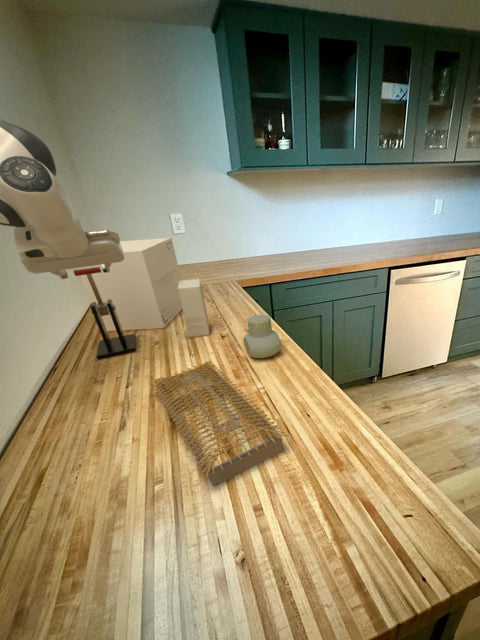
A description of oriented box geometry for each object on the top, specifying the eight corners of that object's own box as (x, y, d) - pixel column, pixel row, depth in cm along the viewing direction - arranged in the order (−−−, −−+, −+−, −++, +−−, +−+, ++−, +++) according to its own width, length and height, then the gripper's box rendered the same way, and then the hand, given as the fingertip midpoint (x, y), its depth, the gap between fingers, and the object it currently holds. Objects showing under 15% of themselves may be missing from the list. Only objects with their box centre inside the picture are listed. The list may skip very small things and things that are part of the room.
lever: (99, 268, 87) (99, 265, 88) (73, 272, 85) (73, 268, 86) (116, 313, 95) (116, 309, 97) (93, 317, 93) (93, 313, 95)
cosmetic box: (190, 328, 110) (178, 280, 102) (210, 325, 111) (200, 277, 103) (189, 338, 103) (176, 287, 95) (211, 334, 104) (200, 284, 96)
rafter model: (153, 394, 76) (145, 370, 73) (213, 372, 83) (208, 350, 80) (210, 493, 50) (201, 463, 47) (290, 451, 57) (287, 422, 54)
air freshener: (285, 357, 87) (281, 321, 82) (254, 365, 84) (248, 328, 79) (271, 342, 96) (267, 308, 91) (243, 349, 93) (237, 314, 88)
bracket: (136, 351, 97) (119, 305, 90) (97, 359, 94) (77, 312, 87) (135, 336, 106) (121, 294, 99) (101, 344, 103) (83, 300, 96)
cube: (164, 327, 112) (141, 250, 99) (101, 331, 113) (72, 255, 100) (187, 303, 133) (171, 237, 121) (135, 306, 134) (113, 241, 122)
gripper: (113, 218, 75) (127, 256, 88) (4, 229, 69) (37, 268, 82) (119, 241, 74) (133, 277, 87) (9, 255, 67) (41, 291, 80)
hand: (86, 273), depth 84 cm, fingers open, 8 cm apart
